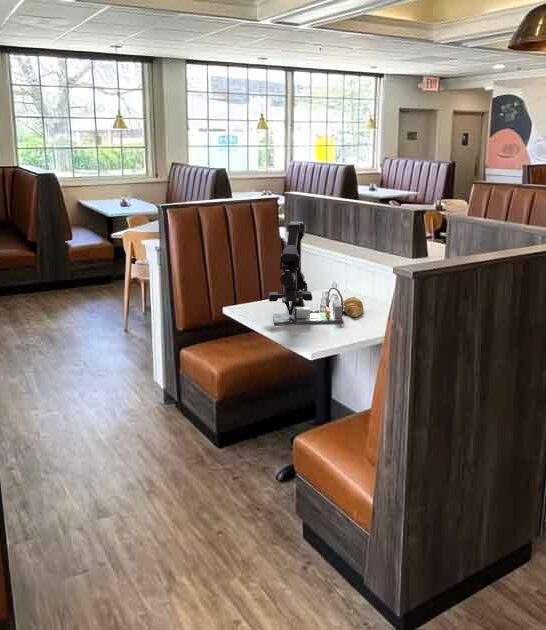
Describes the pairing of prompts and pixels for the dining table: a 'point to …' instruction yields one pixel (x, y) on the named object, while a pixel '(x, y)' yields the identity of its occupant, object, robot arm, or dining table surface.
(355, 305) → the croissant
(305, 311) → the threaded rod block
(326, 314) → the bar
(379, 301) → the dining table surface
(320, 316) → the gauge board
